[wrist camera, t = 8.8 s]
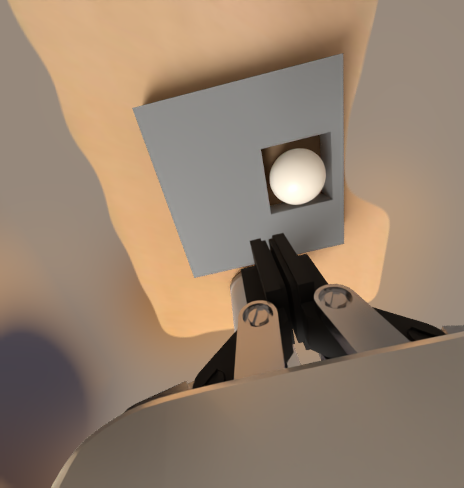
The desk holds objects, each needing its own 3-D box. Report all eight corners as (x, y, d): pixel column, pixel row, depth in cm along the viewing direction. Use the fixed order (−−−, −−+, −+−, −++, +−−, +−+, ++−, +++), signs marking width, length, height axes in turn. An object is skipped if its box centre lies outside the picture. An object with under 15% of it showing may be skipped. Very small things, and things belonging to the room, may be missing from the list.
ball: (281, 158, 22) (338, 142, 23) (257, 154, 27) (304, 141, 28) (288, 218, 24) (338, 201, 25) (265, 203, 30) (307, 190, 31)
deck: (141, 109, 25) (132, 108, 22) (328, 61, 24) (343, 53, 21) (195, 265, 34) (194, 277, 31) (333, 234, 33) (344, 243, 30)
